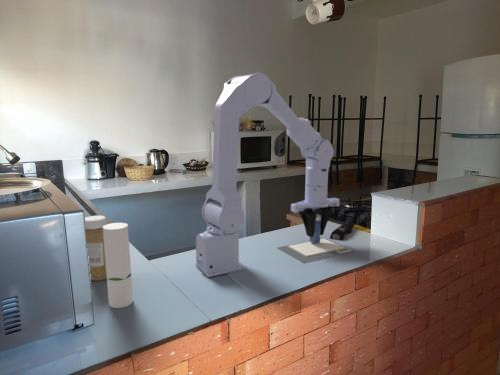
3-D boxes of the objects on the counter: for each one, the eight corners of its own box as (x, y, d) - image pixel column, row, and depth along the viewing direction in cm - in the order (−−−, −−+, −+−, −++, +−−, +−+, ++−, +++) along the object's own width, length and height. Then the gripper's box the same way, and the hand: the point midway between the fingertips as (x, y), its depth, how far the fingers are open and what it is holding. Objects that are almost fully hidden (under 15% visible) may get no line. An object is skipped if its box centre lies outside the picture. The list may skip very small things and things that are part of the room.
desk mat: (303, 264, 90) (303, 263, 90) (276, 249, 100) (276, 247, 100) (355, 252, 98) (355, 251, 98) (324, 239, 108) (324, 238, 108)
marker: (313, 243, 101) (314, 217, 100) (307, 240, 104) (307, 215, 102) (322, 241, 102) (323, 216, 101) (315, 238, 105) (316, 213, 103)
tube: (105, 302, 73) (98, 225, 70) (126, 294, 76) (120, 221, 73) (115, 310, 70) (109, 231, 67) (137, 302, 73) (132, 225, 70)
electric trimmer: (357, 229, 119) (357, 219, 118) (341, 243, 106) (342, 232, 105) (345, 227, 121) (345, 217, 120) (328, 240, 108) (329, 230, 107)
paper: (306, 256, 94) (306, 255, 94) (288, 246, 101) (288, 245, 101) (344, 248, 100) (344, 247, 100) (324, 239, 107) (324, 238, 106)
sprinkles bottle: (114, 274, 85) (110, 215, 83) (101, 282, 81) (96, 221, 78) (97, 271, 87) (92, 214, 84) (83, 280, 82) (77, 219, 80)
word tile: (340, 253, 96) (340, 252, 96) (333, 250, 98) (333, 249, 98) (352, 251, 98) (352, 249, 98) (345, 248, 100) (345, 246, 100)
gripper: (302, 190, 93) (301, 243, 96) (348, 184, 100) (346, 234, 103) (286, 185, 99) (285, 236, 102) (330, 180, 106) (328, 228, 109)
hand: (314, 235), depth 103 cm, fingers closed on marker, 3 cm apart
